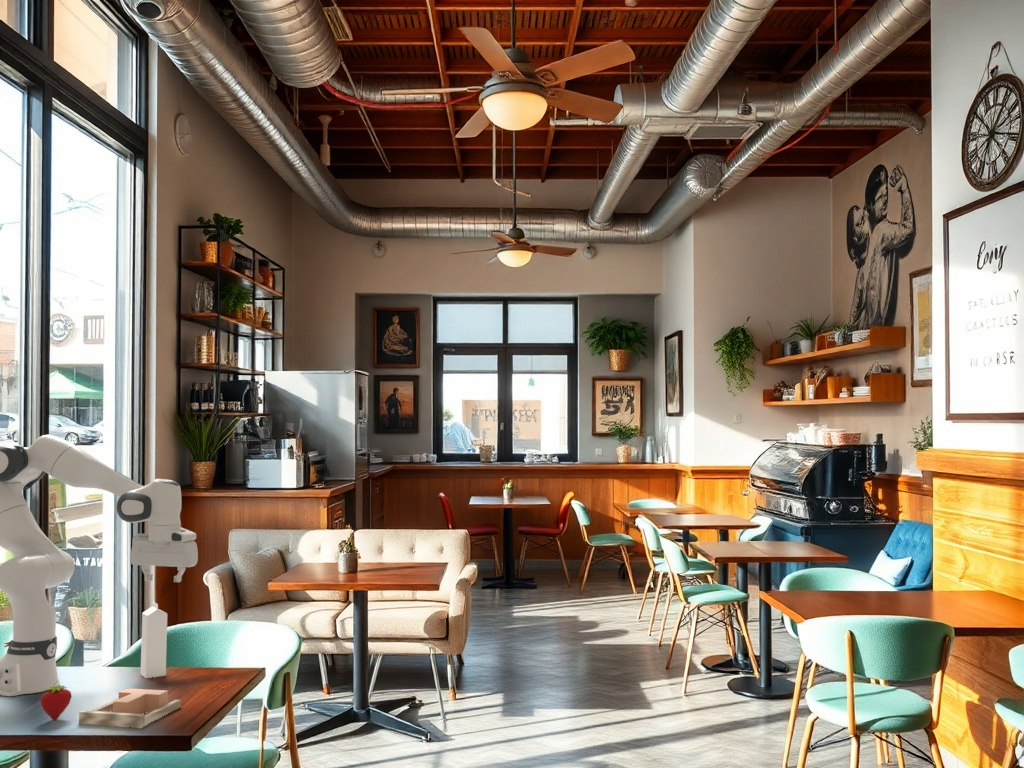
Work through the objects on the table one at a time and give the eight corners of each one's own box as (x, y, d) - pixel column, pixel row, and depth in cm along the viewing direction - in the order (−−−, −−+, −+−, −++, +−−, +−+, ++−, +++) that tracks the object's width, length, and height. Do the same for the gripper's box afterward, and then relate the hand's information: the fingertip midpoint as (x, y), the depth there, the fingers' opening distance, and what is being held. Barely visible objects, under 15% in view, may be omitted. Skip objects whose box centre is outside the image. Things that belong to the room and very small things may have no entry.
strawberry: (75, 717, 232) (77, 678, 233) (47, 725, 226) (48, 685, 227) (63, 714, 236) (64, 675, 236) (34, 721, 229) (36, 681, 230)
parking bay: (78, 724, 227) (79, 711, 228) (122, 703, 245) (122, 692, 245) (140, 728, 224) (141, 716, 224) (180, 707, 242) (180, 696, 242)
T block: (99, 720, 230) (99, 700, 231) (127, 707, 242) (127, 688, 243) (141, 723, 228) (141, 703, 229) (167, 709, 240) (168, 690, 240)
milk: (145, 678, 271) (147, 605, 272) (140, 674, 276) (141, 602, 277) (166, 675, 275) (167, 603, 276) (160, 671, 280) (162, 600, 281)
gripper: (126, 534, 263) (124, 581, 262) (189, 536, 259) (188, 584, 258) (139, 532, 269) (137, 578, 268) (201, 534, 265) (199, 581, 264)
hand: (163, 581), depth 263 cm, fingers open, 8 cm apart
